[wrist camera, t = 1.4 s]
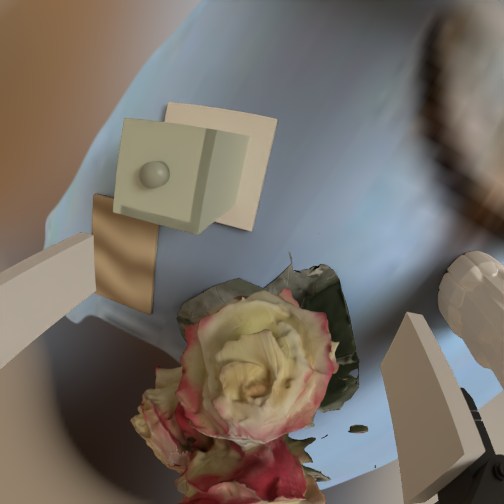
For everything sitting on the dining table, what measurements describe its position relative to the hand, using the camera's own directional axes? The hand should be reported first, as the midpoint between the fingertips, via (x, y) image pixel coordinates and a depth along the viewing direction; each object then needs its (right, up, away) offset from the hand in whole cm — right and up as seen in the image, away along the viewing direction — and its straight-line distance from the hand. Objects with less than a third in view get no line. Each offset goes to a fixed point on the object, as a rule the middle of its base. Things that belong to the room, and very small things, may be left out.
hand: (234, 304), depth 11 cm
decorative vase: (+30, -3, +21) cm, 37 cm away
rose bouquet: (+2, -11, +30) cm, 32 cm away
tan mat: (-18, +2, +29) cm, 34 cm away
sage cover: (-4, +12, +21) cm, 25 cm away
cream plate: (-4, +12, +22) cm, 26 cm away
